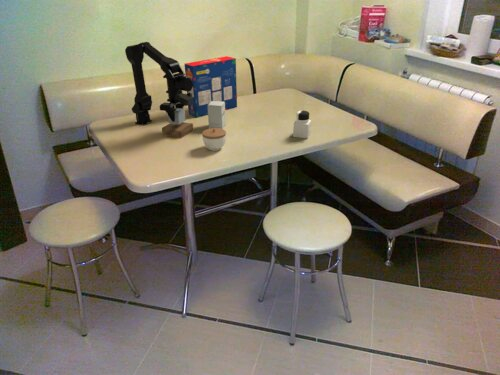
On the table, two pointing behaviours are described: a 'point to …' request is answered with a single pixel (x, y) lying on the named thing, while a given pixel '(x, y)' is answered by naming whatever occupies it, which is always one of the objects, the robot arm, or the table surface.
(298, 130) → the medicine bottle
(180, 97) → the robot arm
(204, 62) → the blue board game box
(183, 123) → the walnut block
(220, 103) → the supplement box
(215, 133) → the lidded jar
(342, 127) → the table surface
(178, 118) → the slate cube
